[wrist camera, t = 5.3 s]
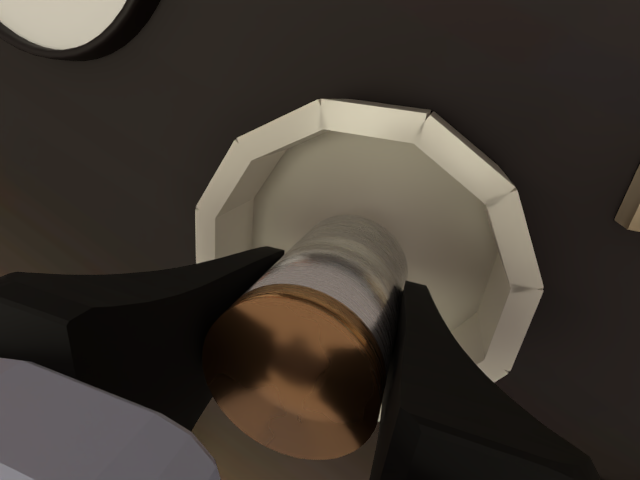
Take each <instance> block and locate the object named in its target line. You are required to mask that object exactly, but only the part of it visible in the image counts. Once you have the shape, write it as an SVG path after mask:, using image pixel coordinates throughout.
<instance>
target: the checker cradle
mask: <svg viewBox="0 0 640 480" xmlns="http://www.w3.org/2000/svg"><path fill="white" fill-rule="evenodd" d="M614 220H615V221H616V222H618V223H619V224H620V225H622V226H623V227H625V228H626V229H627V230H633V231H638V232H640V165H639V167H638V169H637V171H636V173H635V175H634V178H633V180H632V182H631V184H630V186H629V188H628V191H627V193H626V195H625V197H624V199H623V201H622V204H621V206H620V208H619V210H618V212H617V214H616V217H615V219H614Z"/></svg>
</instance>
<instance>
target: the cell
mask: <svg viewBox="0 0 640 480" xmlns="http://www.w3.org/2000/svg"><path fill="white" fill-rule="evenodd" d="M407 278H408V266H407V260H406V257H405V254H404V252H403V249H402V247H401V246H400V244H399V242H398V241H397V240H396V238H395V237H394V236H393V235H392V234H391V233H390V232H389V231H388V230H387V229H385V228H384V227H383V226H382V225H380V224H378V223H376V222H375V221H372V220H370V219H368V218H364V217H361V216H356V215H337V216H333V217H330V218H327V219H324V220H322V221H321V222H319V223H317V224H316V225H315V226H313V227H312V228H311V229H310V230H309V231H308V232H307V233H306V234H305V235H304V236H303V237H302V238H301V239H300V240H299V241H298V242H297V243H296V244H295V245H294V246H293V247H292V248H291V249H289V250H288V251H287V252H286V253H285V254H284V255H283V256H282V257H281V258H280V259H279V260H278V261H277V262H276V263H275V264H274V265H273V266H272V267H271V268H270V269H269V270H268V271H267V272H266V273H265V274H264V275H263V276H262V277H260V278H259V279H258V280H257V281H256V282H255V283H254V284H253V285H252V286H251V287H250V288H249V289H248V290H247V291H246V292H245V293H244V294H243V295H242V296H241V297H240V298H239V299H238V300H237V301H236V302H235V303H234V304H233V305H232V306H230V307H229V308H228V309H227V310H226V311H225V312H224V313H223V314H222V315H221V316H220V317H219V318H218V319H217V320H216V321H215V322H214V323H213V325H212V326H211V328H210V329H209V331H208V333H207V335H206V338H205V340H204V345H203V350H202V365H203V371H204V376H205V379H206V382H207V385H208V387H209V389H210V392H211V394H212V396H213V397H214V399H215V401H216V402H217V404H218V405H219V407H220V408H221V409H222V411H223V412H224V413H225V414H226V416H227V417H228V418H229V419H230V420H231V421H232V422H233V423H234V424H235V425H236V426H237V427H238V428H239V429H240V430H242V431H243V432H244V433H245V434H247V435H248V436H249V437H251V438H252V439H254V440H255V441H257V442H259V443H260V444H262V445H264V446H266V447H268V448H270V449H272V450H274V451H277V452H279V453H282V454H285V455H288V456H292V457H296V458H302V459H308V460H326V459H333V458H338V457H341V456H344V455H347V454H349V453H351V452H353V451H355V450H357V449H358V448H359V447H361V446H362V445H363V444H364V443H365V442H366V441H367V440H368V439H369V438H370V436H371V435H372V433H373V431H374V430H375V427H376V425H377V422H378V419H379V414H380V409H381V405H382V400H383V395H384V390H385V385H386V380H387V376H388V371H389V366H390V361H391V356H392V351H393V347H394V342H395V336H396V331H397V323H398V315H399V307H400V303H401V298H402V294H403V289H404V285H405V281H407Z"/></svg>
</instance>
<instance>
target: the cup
mask: <svg viewBox="0 0 640 480" xmlns="http://www.w3.org/2000/svg"><path fill="white" fill-rule="evenodd" d="M430 113H431V110H428V109H421V108H413V107H406V106H399V105H391V104H384V103H377V102H369V101H362V100H354V99H318V100H315V101H313V102H311V103H309V104H307V105H305V106H303V107H301V108H299V109H297V110H295V111H292V112H290V113H288V114H286V115H284V116H282V117H280V118H278V119H276V120H274V121H271V122H269V123H267V124H265V125H263V126H261V127H259V128H257V129H255V130H253V131H251V132H248V133H246V134H244V135H242V136H240V137H238V138H237V140H234V142H233V144H232V145H231V147H230V149H229V151H228V152H227V154H226V156H225V157H224V159H223V161H222V163H221V164H220V166H219V168H218V169H217V171H216V173H215V175H214V176H213V178H212V180H211V181H210V183H209V185H208V187H207V188H206V190H205V192H204V194H203V195H202V197H201V199H200V200H199V202H198V204H197V206H196V207H197V209H195V227H196V264H197V263H201V262H205V261H210V260H214V259H218V258H222V257H225V256H229V255H232V254H236V253H240V252H243V251H247V250H250V249H254V248H259V247H264V246H269V247H273V248H278V249H282V250H285V251H284V254H285V253H286V252H287V251H288V250H289V249H291V248H292V247H293V246H294V245H295V244H296V243H297V242H298V241H299V240H300V239H301V238H302V237H303V236H304V235H305V234H306V233H307V232H308V231H309V230H310V229H311V228H312V227H313V226H315V225H316V224H317V223H319V222H321V221H322V220H324V219H327V218H330V217H333V216H337V215H356V216H361V217H364V218H368V219H370V220H372V221H375V222H376V223H378V224H380V225H382V226H383V227H384V228H385V229H387V230H388V231H389V232H390V233H391V234H392V235H393V236H394V237H395V238H396V240H397V241H398V242H399V244H400V246H401V247H402V249H403V252H404V254H405V257H406V260H407V266H408V278H407V281H410V282H414V283H418V284H422V285H426V286H427V288H428V289H429V292H430V294H431V296H432V299H433V301H434V303H435V305H436V307H437V309H438V311H439V313H440V315H441V316H442V318H443V320H444V322H445V323H446V325H447V327H448V328H449V330H450V332H451V333H452V335H453V336H454V338H455V339H456V340H457V342H458V343H459V345H460V346H461V347H462V348H463V350H464V351H465V352H466V353H467V354H468V356H469V357H470V358H471V359H472V360H473V362H474V363H475V364H476V365H477V366H478V367H479V368H480V369H481V370H482V371H483V372H484V374H485V375H486V376H488V377H489V378H490V379H491V380H492V381H493V382H496V381H497V380H499V379H501V378H502V377H504V376H505V375H507V374H508V371H511V368H512V366H513V364H514V361H515V359H516V356H517V354H518V352H519V349H520V347H521V344H522V342H523V340H524V337H525V335H526V332H527V330H528V327H529V325H530V323H531V320H532V318H533V315H534V313H535V311H536V308H537V306H538V303H539V301H540V299H541V296H542V294H543V289H542V288H544V286H543V283H542V279H541V275H540V272H539V268H538V264H537V260H536V257H535V253H534V249H533V246H532V242H531V238H530V235H529V231H528V227H527V224H526V220H525V216H524V213H523V209H522V205H521V201H520V198H519V194H518V190H517V189H516V188H515V186H514V185H513V183H512V182H511V181H510V180H509V178H508V177H507V176H506V175H505V174H504V172H503V171H502V170H501V169H500V167H499V166H498V165H497V164H496V163H494V162H493V161H492V160H491V159H490V158H489V157H487V156H486V155H485V154H484V153H483V152H481V151H480V150H479V149H478V148H477V147H476V146H474V145H473V144H472V143H471V142H470V141H468V140H467V139H466V138H465V137H464V136H463V135H461V134H460V133H459V132H458V131H457V130H455V129H454V128H453V127H452V126H451V125H450V124H448V123H447V122H446V121H445V120H444V119H442V118H441V117H440V116H439V115H438V114H437V113H435V112H434V111H433V112H432V113H431V115H430ZM381 407H382V405H381ZM380 417H381V409H380V414H379V419H378V421H380Z"/></svg>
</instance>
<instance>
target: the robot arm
mask: <svg viewBox="0 0 640 480" xmlns="http://www.w3.org/2000/svg"><path fill="white" fill-rule="evenodd" d="M284 251H285V250H282V249H278V248H273V247H269V246H264V247H259V248H254V249H250V250H247V251H243V252H240V253H236V254H232V255H229V256H225V257H222V258H218V259H214V260H210V261H205V262H201V263H197V264H193V265H188V266H183V267H178V268H172V269H165V270H159V271H151V272H139V273H127V274H112V275H61V274H43V273H25V272H14V273H10V274H7V275H4V276H2V277H0V480H221V479H220V475H219V472H218V468H217V465H216V462H215V459H214V458H213V457H212V456H211V454H210V453H209V452H208V451H207V450H206V448H205V447H204V446H203V445H202V444H201V442H200V441H199V440H198V439H197V438H196V436H195V435H194V434H193V433H192V432H191V430H192V429H193V427H194V425H195V424H196V422H197V420H198V419H199V417H200V416H201V414H202V412H203V411H204V409H205V408H206V406H207V404H208V403H209V401H210V400H211V398H212V397H213V396H212V394H211V392H210V389H209V387H208V385H207V382H206V379H205V376H204V371H203V365H202V350H203V345H204V340H205V338H206V335H207V333H208V331H209V329H210V328H211V326H212V325H213V323H214V322H215V321H216V320H217V319H218V318H219V317H220V316H221V315H222V314H223V313H224V312H225V311H226V310H227V309H228V308H229V307H230V306H232V305H233V304H234V303H235V302H236V301H237V300H238V299H239V298H240V297H241V296H242V295H243V294H244V293H245V292H246V291H247V290H248V289H249V288H250V287H251V286H252V285H253V284H254V283H255V282H256V281H257V280H258V279H259V278H260V277H262V276H263V275H264V274H265V273H266V272H267V271H268V270H269V269H270V268H271V267H272V266H273V265H274V264H275V263H276V262H277V261H278V260H279V259H280V258H281V257H282V256H283V255H284ZM370 480H601V478H600V476H599V474H598V472H597V470H596V468H595V466H594V464H593V462H592V460H591V458H590V457H589V456H588V455H586V454H585V453H583V452H582V451H580V450H579V449H577V448H576V447H575V446H573V445H572V444H570V443H569V442H567V441H566V440H565V439H563V438H562V437H560V436H559V435H557V434H556V433H555V432H553V431H552V430H550V429H549V428H547V427H546V426H545V425H543V424H542V423H541V422H539V421H538V420H537V419H535V418H534V417H533V416H532V415H530V414H529V413H528V412H527V411H525V410H524V409H523V408H522V407H521V406H519V405H518V404H517V403H516V402H514V401H513V400H512V399H511V398H510V397H509V396H508V395H506V394H505V393H504V392H503V391H502V390H501V389H500V388H499V387H498V386H497V385H496V384H495V383H494V382H493V381H492V380H491V379H490V378H489V377H488V376H486V375H485V374H484V372H483V371H482V370H481V369H480V368H479V367H478V366H477V365H476V364H475V363H474V362H473V360H472V359H471V358H470V357H469V356H468V354H467V353H466V352H465V351H464V350H463V348H462V347H461V346H460V345H459V343H458V342H457V340H456V339H455V338H454V336H453V335H452V333H451V332H450V330H449V328H448V327H447V325H446V323H445V322H444V320H443V318H442V316H441V315H440V313H439V311H438V309H437V307H436V305H435V303H434V301H433V299H432V296H431V294H430V292H429V289H428V288H427V286H426V285H422V284H418V283H414V282H410V281H405V285H404V289H403V294H402V298H401V303H400V307H399V315H398V323H397V331H396V336H395V342H394V347H393V351H392V356H391V361H390V366H389V371H388V376H387V380H386V385H385V390H384V395H383V400H382V407H381V417H380V427H379V434H378V440H377V446H376V451H375V455H374V460H373V465H372V470H371V475H370Z"/></svg>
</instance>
